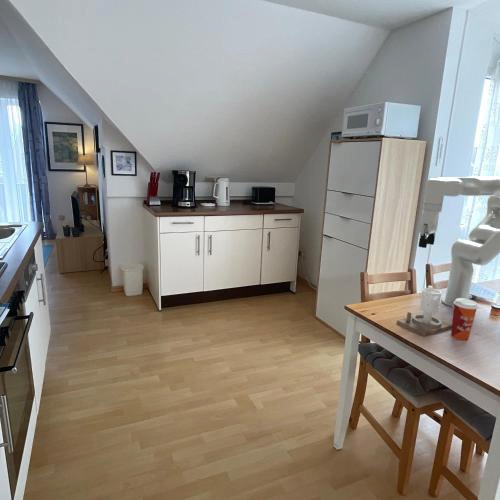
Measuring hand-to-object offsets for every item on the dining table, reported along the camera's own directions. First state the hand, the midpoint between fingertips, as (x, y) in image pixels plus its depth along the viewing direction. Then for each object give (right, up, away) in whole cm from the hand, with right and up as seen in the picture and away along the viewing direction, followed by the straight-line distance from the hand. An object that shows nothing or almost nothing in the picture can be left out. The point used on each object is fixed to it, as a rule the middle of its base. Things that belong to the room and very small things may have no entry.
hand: (426, 245), depth 162 cm
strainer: (-5, -32, -10) cm, 34 cm away
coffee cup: (+4, -36, -20) cm, 41 cm away
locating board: (-5, -34, -10) cm, 35 cm away
